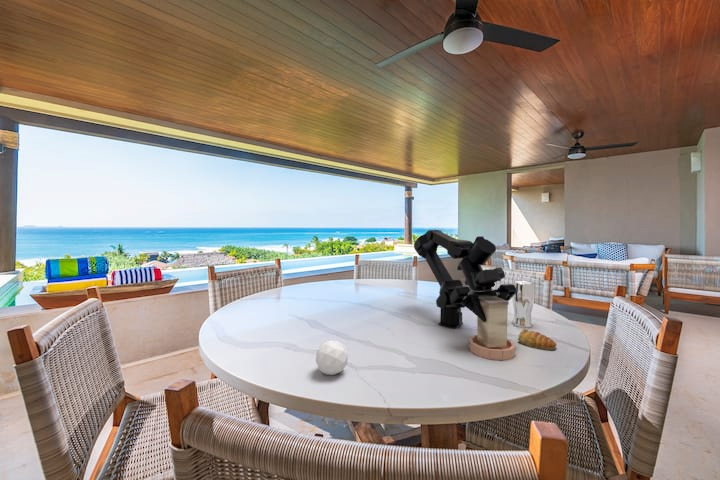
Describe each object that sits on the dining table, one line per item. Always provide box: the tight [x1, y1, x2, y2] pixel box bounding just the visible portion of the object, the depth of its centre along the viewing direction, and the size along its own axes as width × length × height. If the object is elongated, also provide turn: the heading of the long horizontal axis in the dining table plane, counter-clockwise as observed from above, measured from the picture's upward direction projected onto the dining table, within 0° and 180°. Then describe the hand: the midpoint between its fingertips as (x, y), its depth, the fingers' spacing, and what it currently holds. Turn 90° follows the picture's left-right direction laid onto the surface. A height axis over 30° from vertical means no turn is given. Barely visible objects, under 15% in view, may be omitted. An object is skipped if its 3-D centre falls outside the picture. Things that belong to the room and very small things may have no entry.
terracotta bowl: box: [468, 334, 517, 361], centre depth 85 cm, size 12×12×2 cm
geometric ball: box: [315, 339, 349, 376], centre depth 74 cm, size 8×8×8 cm
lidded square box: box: [476, 296, 510, 348], centre depth 85 cm, size 6×6×12 cm
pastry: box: [517, 328, 557, 351], centre depth 89 cm, size 9×7×4 cm
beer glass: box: [511, 280, 536, 329], centre depth 106 cm, size 7×7×15 cm
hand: (495, 320), depth 84 cm, fingers closed on lidded square box, 5 cm apart
